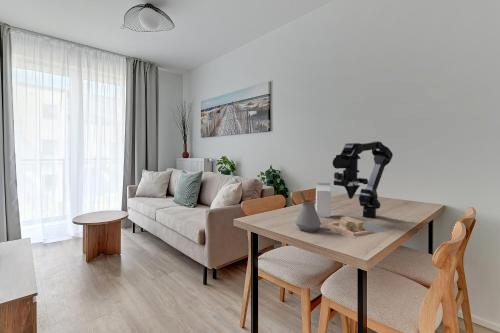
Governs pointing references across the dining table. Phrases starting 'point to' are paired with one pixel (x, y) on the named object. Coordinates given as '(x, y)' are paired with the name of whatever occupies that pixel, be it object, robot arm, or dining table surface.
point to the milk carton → (323, 199)
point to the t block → (351, 224)
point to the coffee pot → (308, 216)
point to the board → (368, 230)
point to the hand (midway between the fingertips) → (350, 198)
